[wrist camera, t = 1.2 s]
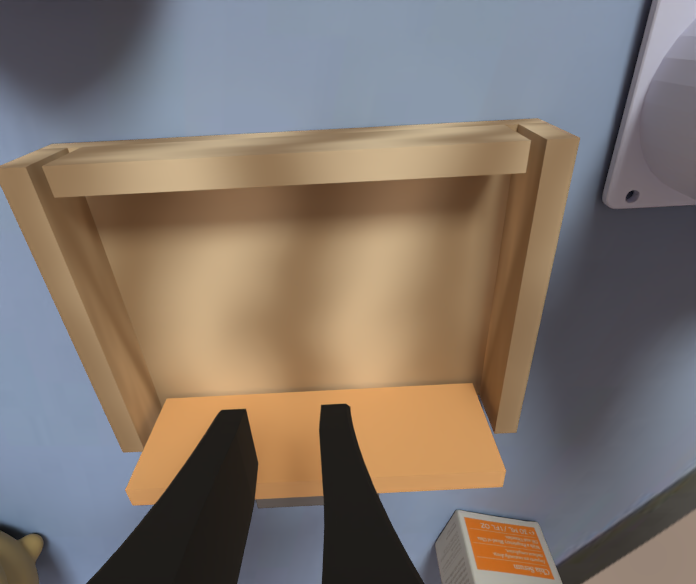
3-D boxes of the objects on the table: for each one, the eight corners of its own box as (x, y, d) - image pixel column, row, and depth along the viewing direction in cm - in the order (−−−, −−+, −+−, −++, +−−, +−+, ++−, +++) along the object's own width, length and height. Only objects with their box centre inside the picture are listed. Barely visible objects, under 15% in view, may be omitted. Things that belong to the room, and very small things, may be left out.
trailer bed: (537, 118, 16) (579, 137, 14) (494, 382, 23) (516, 432, 20) (52, 144, 16) (-8, 168, 14) (148, 400, 23) (123, 452, 20)
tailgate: (472, 382, 22) (506, 470, 17) (469, 406, 23) (500, 495, 18) (166, 398, 22) (125, 490, 17) (174, 421, 23) (136, 514, 18)
